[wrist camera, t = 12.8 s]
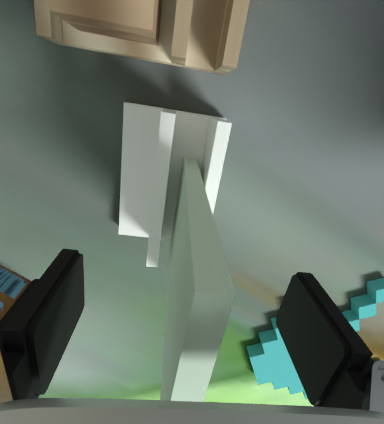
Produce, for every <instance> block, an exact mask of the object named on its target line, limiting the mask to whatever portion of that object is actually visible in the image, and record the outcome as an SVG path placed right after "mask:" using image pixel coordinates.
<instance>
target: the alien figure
mask: <svg viewBox="0 0 384 424" xmlns="http://www.w3.org/2000/svg"><path fill="white" fill-rule="evenodd" d="M350 299H351V310H347V311H343V312H341V313H342V314H343V315H344V317H345V318H346V319H347V320H348V322H349V323H350V324H351V326H352V327H353V328H354V330H355V331H359V319H363V318H367V317H371V316H375V315H376V303H379V302H383V301H384V277H382V278H378V279H375V280H371V281H367V294H364V295H360V296H356V297H352V298H350ZM271 321H272V326H273V329H271V330H267V331H263V332H260V333H258V334H259V337H260V341H261V343H258V344H254V345H250V346H246V347H247V350H248V354H249V358H250V361H251V364H252V367H253V370H254V373H255V377H256V380H257V383H258V385H259V384H263V383H268V382H272V383H273V386H274V389H280V388H284V387H288V389H289V392H290V394H294V393H299V392H303V394H304V396H305V399H308V398H307V395H306V393H305V391H304V388H303V386H302V384H301V381H300V379H299V377H298V374H297V372H296V370H295V367H294V365H293V363H292V360H291V358H290V356H289V353H288V351H287V349H286V346H285V344H284V342H283V339H282V337H281V335H280V332H279V330H278V328H277V325H276V317H274V318H271Z"/></svg>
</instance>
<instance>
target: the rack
mask: <svg viewBox="0 0 384 424" xmlns="http://www.w3.org/2000/svg"><path fill="white" fill-rule="evenodd" d="M249 2H250V0H162V8H161V20H160V32H159V44H158V46H155V45H150V44H145V43H140V42H134V41H129V40H124V39H118V38H113V37H108V36H103V35H97V34H92V33H87V32H82V31H79V30H77V29H76V28H74V27H73V26H71V25H70V24H68V23H67V22H65V21H64V20H63V19H61V18H60V17H58V16H57V15H55V14H54V13H52V12H51V11H49V6H48V0H34V11H35V23H36V35H38V36H40V37H42V38H45V39H47V40H49V41H51V42H54V43H56V44H58V45H63V46H68V47H74V48H79V49H85V50H90V51H96V52H101V53H107V54H112V55H118V56H123V57H129V58H134V59H140V60H145V61H150V62H156V63H161V64H167V65H172V66H178V67H183V68H189V69H194V70H200V71H205V72H211V73H216V74H222V75H224V74H226V73H228V72H230V71H232V70H234V69H236V68H237V63H238V58H239V53H240V48H241V43H242V38H243V33H244V28H245V23H246V17H247V12H248V7H249Z"/></svg>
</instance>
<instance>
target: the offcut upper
mask: <svg viewBox="0 0 384 424" xmlns="http://www.w3.org/2000/svg"><path fill="white" fill-rule="evenodd" d="M158 3H159V0H48V6H49V11H51V12H52V13H54V14H55V15H57V16H58V17H60V18H61V19H63V20H64V21H65V22H68V23H74V24H79V25H84V26H89V27H94V28H100V29H105V30H110V31H115V32H120V33H126V34H131V35H136V36H141V37H146V38H151V39H156V28H157V16H158Z"/></svg>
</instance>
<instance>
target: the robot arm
mask: <svg viewBox="0 0 384 424" xmlns="http://www.w3.org/2000/svg"><path fill="white" fill-rule="evenodd" d="M83 308H84V270H83V254H79V251H78V250H72V249H62V250H61V252H60V253H59V254H58V256H57V257H56V258H55V259H54V261H53V262H52V263H51V265H50V266H49V267H48V269H47V270H46V271H45V272H44V274H43V275H42V276H41V278H40V279H34V280H33V281H32V282H31V283H30V284H29V285H28V286H27V288H26V289H25V290H24V291H23V293H22V294H21V295H20V296H19V298H18V299H17V300H16V301H15V302H14V304H13V305H12V306H11V307H10V309H9V310H8V311H7V312H6V314H5V315H4V316H3V317H2V319H1V320H0V424H384V361H376V362H374V361H373V360H372V359H371V356H372V355H373V353H372V352H371V351H370V350H369V348H368V347H367V346H366V344H365V343H364V342H363V340H362V339H361V338H360V336H359V335H358V334H357V332H356V331H355V330H354V328H353V327H352V326H351V324H350V323H349V322H348V320H347V319H346V318H345V317H344V315H343V314H342V313H341V311H340V310H339V309H338V307H337V306H336V305H335V303H334V302H333V301H332V299H331V298H330V297H329V295H328V294H327V293H326V291H325V290H324V289H323V288H322V286H321V285H320V284H319V282H318V281H317V280H316V278H315V277H314V276H313V275H312V274H311V273H303V272H298V273H296V275H293V276H292V278H291V281H290V283H289V286H288V289H287V291H286V294H285V296H284V299H283V301H282V304H281V306H280V309H279V311H278V314H277V316H276V325H277V328H278V330H279V332H280V335H281V337H282V339H283V342H284V344H285V346H286V349H287V351H288V353H289V356H290V358H291V360H292V363H293V365H294V367H295V370H296V372H297V374H298V377H299V379H300V381H301V384H302V386H303V388H304V391H305V393H306V395H307V398H308V400H309V402H310V403H311V404H312V405H314V407H312V406H290V405H267V404H243V403H218V402H191V401H163V400H132V399H98V398H38V397H39V395H40V394H42V395H43V394H45V392H46V391H47V389H48V386H49V384H50V382H51V380H52V378H53V375H54V373H55V371H56V369H57V367H58V364H59V362H60V360H61V358H62V355H63V353H64V351H65V349H66V347H67V344H68V342H69V340H70V338H71V336H72V333H73V331H74V329H75V327H76V324H77V322H78V320H79V318H80V316H81V313H82V311H83Z"/></svg>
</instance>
